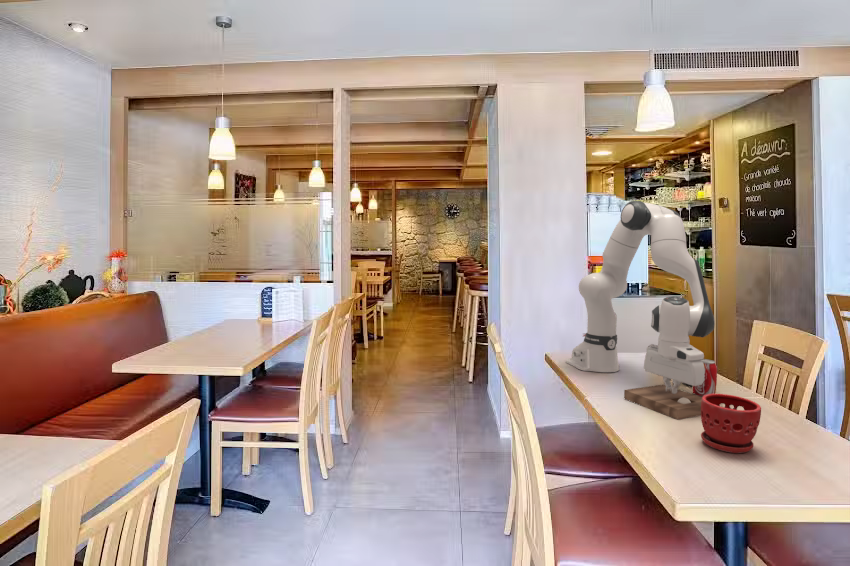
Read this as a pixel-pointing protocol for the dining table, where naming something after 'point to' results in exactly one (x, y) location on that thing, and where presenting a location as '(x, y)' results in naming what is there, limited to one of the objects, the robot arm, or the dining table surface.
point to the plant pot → (729, 422)
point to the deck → (665, 401)
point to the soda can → (707, 379)
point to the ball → (684, 401)
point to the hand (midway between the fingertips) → (671, 392)
